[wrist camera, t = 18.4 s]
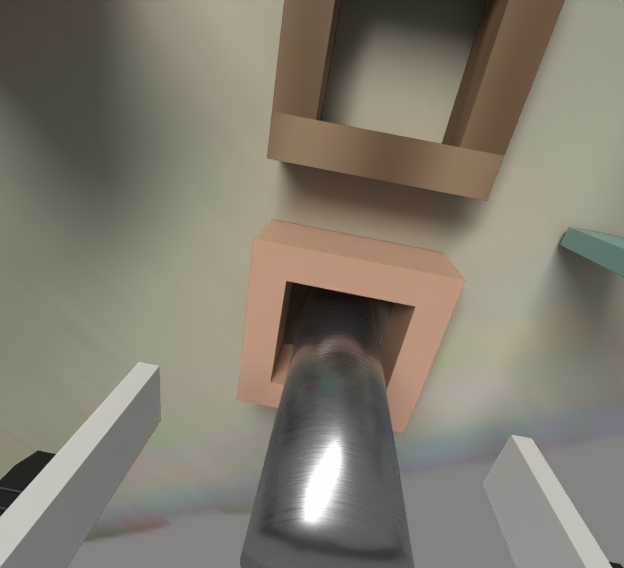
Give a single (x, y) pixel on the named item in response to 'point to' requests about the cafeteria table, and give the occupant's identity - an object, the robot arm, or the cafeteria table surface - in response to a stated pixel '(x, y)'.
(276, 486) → the metal cylinder
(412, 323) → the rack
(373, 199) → the cafeteria table surface
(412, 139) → the socket block
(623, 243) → the teal green arch
